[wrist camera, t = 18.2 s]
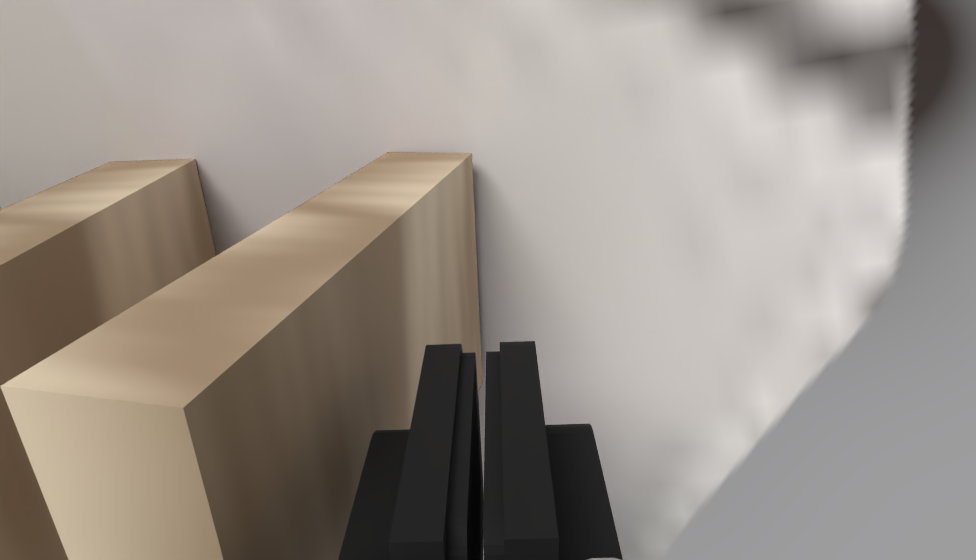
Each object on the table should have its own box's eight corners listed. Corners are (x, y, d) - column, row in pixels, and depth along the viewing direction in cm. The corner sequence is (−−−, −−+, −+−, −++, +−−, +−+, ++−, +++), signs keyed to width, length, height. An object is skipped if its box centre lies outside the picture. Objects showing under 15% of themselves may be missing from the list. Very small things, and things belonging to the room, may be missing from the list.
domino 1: (170, 381, 18) (-182, 800, 8) (110, 162, 15) (-471, 413, 6) (243, 379, 18) (-31, 798, 8) (195, 158, 15) (-263, 408, 6)
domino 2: (410, 375, 17) (153, 774, 9) (388, 152, 15) (0, 386, 6) (482, 382, 17) (291, 811, 8) (471, 153, 15) (183, 408, 6)
